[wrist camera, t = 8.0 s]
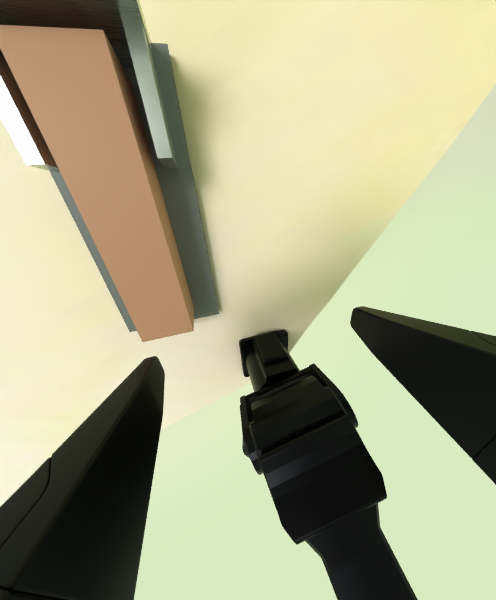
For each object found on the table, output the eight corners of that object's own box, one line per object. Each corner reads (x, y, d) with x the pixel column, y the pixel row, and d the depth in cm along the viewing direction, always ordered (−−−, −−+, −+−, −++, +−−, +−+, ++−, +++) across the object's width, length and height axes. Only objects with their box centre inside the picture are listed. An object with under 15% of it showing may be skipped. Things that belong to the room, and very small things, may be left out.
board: (218, 310, 20) (219, 313, 20) (132, 327, 19) (129, 331, 18) (169, 53, 11) (167, 43, 11) (-4, 46, 10) (-19, 34, 9)
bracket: (178, 168, 13) (166, 144, 8) (67, 175, 12) (-28, 152, 7) (151, 43, 11) (106, -114, 5) (2, 35, 9) (-239, -178, 4)
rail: (194, 307, 19) (193, 330, 15) (153, 316, 18) (142, 342, 15) (132, 84, 11) (102, 29, 8) (57, 84, 10) (-12, 24, 7)
